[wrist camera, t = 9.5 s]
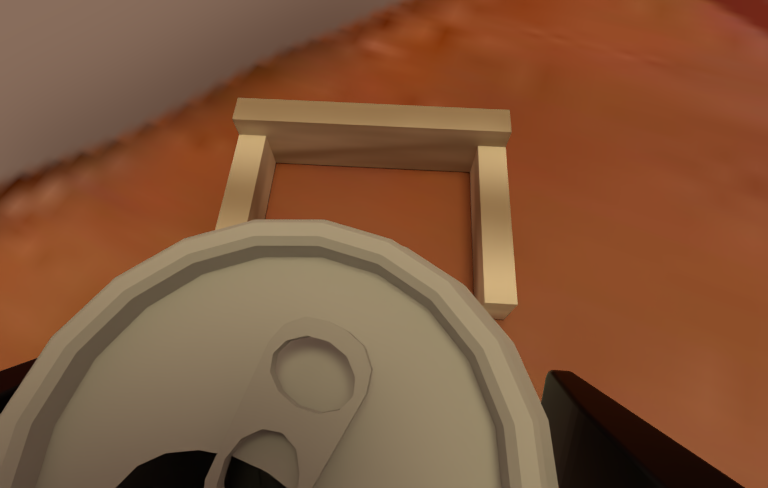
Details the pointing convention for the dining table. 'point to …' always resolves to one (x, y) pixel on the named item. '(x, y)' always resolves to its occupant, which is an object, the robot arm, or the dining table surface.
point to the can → (279, 375)
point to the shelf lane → (384, 165)
